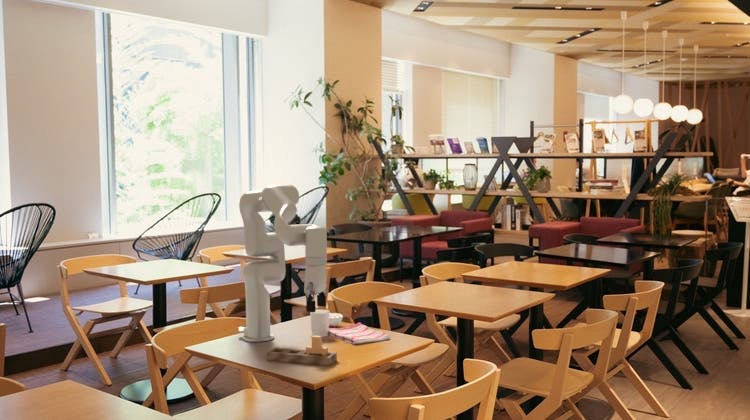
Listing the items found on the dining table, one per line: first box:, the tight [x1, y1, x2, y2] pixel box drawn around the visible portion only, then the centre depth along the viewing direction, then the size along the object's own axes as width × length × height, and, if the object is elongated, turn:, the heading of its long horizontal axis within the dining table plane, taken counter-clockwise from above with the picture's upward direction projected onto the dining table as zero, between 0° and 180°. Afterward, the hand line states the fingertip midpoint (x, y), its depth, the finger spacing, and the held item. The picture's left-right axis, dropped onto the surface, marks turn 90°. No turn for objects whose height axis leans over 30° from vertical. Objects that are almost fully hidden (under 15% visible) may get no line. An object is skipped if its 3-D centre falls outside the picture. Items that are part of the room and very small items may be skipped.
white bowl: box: [329, 312, 344, 328], centre depth 313 cm, size 10×12×7 cm
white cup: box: [309, 308, 330, 338], centre depth 297 cm, size 8×8×10 cm
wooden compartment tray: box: [266, 347, 338, 367], centre depth 260 cm, size 24×7×3 cm, turn 72°
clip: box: [305, 335, 329, 356], centre depth 258 cm, size 8×2×9 cm, turn 72°
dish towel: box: [328, 322, 391, 346], centre depth 295 cm, size 17×23×4 cm
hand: (316, 308), depth 257 cm, fingers open, 9 cm apart
